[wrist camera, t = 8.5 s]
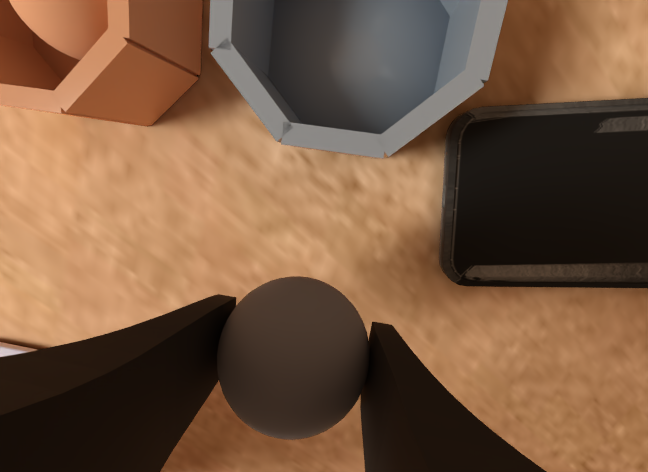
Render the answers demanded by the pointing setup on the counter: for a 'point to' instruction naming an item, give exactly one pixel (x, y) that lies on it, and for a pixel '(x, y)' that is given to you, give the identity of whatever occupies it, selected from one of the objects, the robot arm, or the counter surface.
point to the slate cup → (354, 65)
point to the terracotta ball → (65, 22)
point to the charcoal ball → (293, 358)
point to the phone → (547, 195)
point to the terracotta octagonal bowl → (106, 63)
